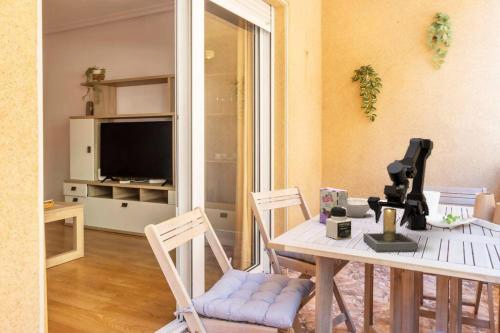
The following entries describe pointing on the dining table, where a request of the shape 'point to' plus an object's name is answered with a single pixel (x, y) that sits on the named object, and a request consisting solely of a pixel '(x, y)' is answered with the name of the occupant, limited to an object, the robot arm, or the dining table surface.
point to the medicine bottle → (338, 224)
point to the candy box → (331, 201)
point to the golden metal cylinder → (389, 225)
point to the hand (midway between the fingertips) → (388, 224)
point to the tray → (400, 246)
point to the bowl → (357, 208)
